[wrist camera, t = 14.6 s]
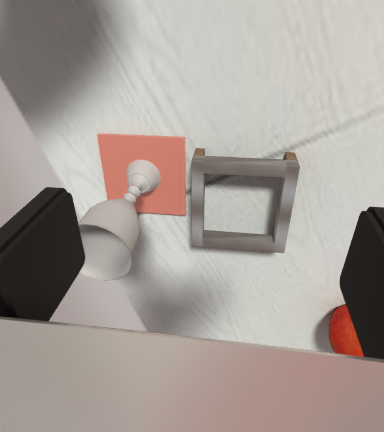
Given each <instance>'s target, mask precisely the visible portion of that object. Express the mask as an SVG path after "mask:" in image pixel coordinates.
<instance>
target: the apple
mask: <svg viewBox="0 0 384 432" xmlns="http://www.w3.org/2000/svg"><path fill="white" fill-rule="evenodd" d="M329 339H330V343H331V346H332V349H333V350H334V352H335V353H336V354H344V355H352V356H361V357H364V355H363V352H362V349H361V346H360V343H359V340H358V338H357V335H356V332H355V329H354V326H353V323H352V320H351V317H350V314H349V312H348V309H347V306H346V305H343V306H340V307H339V308H337V309H336V310H335V311H334V313H333V315H332V318H331V321H330V324H329Z"/></svg>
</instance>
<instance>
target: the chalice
mask: <svg viewBox="0 0 384 432" xmlns="http://www.w3.org/2000/svg"><path fill="white" fill-rule="evenodd" d="M126 176H127V182H128V185H129V187H128V189H127V192H128V193H126V194H124V196H123V198H118V199H112V200H107V201H104V202H101V203H99V204H96V205H95V206H93V207H91V208H90V209H89V210H88V211H87V213H86V214H85V215H84V217H83V218H82V219H81V220H80V222H79V223H78V225H79V229H80V234H81V238H82V243H83V247H84V252H85V263H84V265H83V267H82V269H81V270H80V273H82V274H83V275H85V276H88V277H90V278H93V279H96V280H103V281H109V280H117V279H119V278H121V277H124V276H125V275H126V274H127V273H128V272H129V271H130V268H131V265H132V259H131V254H132V252H133V249H134V247H135V245H136V243H137V241H138V238H139V235H140V227H139V218H138V215H137V212H136V209H135V207H134V205H133V204H134V203H135V202H136V198H137V197H139V196H140V194H141V193H147V192H150V191H153V190H154V189H156V188H157V187H158V186H159V184H160V181H161V175H160V172H159V170H158V169H157V167H156V166H155V165H154V164H152V163H151V162H149V161H146V160H136V161H133V162H132V163H130V165H129V166H128V167H127V171H126Z"/></svg>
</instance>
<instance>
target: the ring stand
mask: <svg viewBox="0 0 384 432" xmlns="http://www.w3.org/2000/svg"><path fill="white" fill-rule="evenodd" d="M191 166H192V246H202V247H214V248H227V249H240V250H253V251H266V252H278V253H284V251H285V245H286V240H287V234H288V229H289V223H290V218H291V212H292V207H293V201H294V196H295V191H296V185H297V180H298V174H299V169H300V166H299V163H298V160H297V157H296V155H295V153H291V152H285V158H284V160H280V159H259V158H237V157H215V156H205V149H200V148H196V150H195V153H194V156H193V159H192V161H191ZM205 173H207V174H227V175H246V176H265V177H282V183H281V190H280V196H279V203H278V209H277V215H276V222H275V227H274V230H273V235H264V234H250V233H237V232H223V231H209V230H204V194H205Z"/></svg>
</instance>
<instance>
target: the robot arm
mask: <svg viewBox="0 0 384 432" xmlns="http://www.w3.org/2000/svg"><path fill="white" fill-rule="evenodd" d="M84 263H85V252H84V247H83V243H82V238H81V234H80V229H79V225H78V221H77V216H76V212H75V207H74V203H73V198H72V195H71V194H70V193H67V191H66V189H64V188H52V187H47V188H45V189H44V190H43V191H41V192H40V193H39V194H38V195H37V196H36V197H35V198H33V199H32V200H31V201H30V202H29V203H28V204H27V205H26V206H25V207H23V208H22V209H21V210H20V211H19V212H18V213H17V214H16V215H14V216H13V217H12V218H11V219H10V220H9V221H8V222H7V223H6V224H5V225H3V226H2V227H1V228H0V432H384V208H382V207H369V208H368V209H367V211H362V212H361V213H360V216H359V219H358V222H357V225H356V228H355V231H354V235H353V238H352V241H351V244H350V247H349V251H348V254H347V257H346V260H345V263H344V267H343V270H342V273H341V276H340V288H341V291H342V294H343V297H344V300H345V303H346V306H347V309H348V312H349V314H350V317H351V320H352V323H353V326H354V329H355V332H356V335H357V338H358V340H359V343H360V346H361V349H362V352H363V355H364V357H361V356H352V355H344V354H336V353H329V352H320V351H312V350H303V349H294V348H286V347H277V346H268V345H260V344H251V343H243V342H234V341H225V340H216V339H207V338H198V337H189V336H180V335H171V334H162V333H153V332H144V331H134V330H125V329H116V328H106V327H97V326H87V325H78V324H68V323H59V322H49V320H50V318H51V316H52V315H53V313H54V312H55V310H56V309H57V307H58V305H59V304H60V302H61V301H62V299H63V297H64V296H65V294H66V293H67V291H68V289H69V288H70V286H71V285H72V283H73V281H74V280H75V278H76V277H77V275H78V274H79V272H80V270H81V269H82V267H83V265H84Z"/></svg>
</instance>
